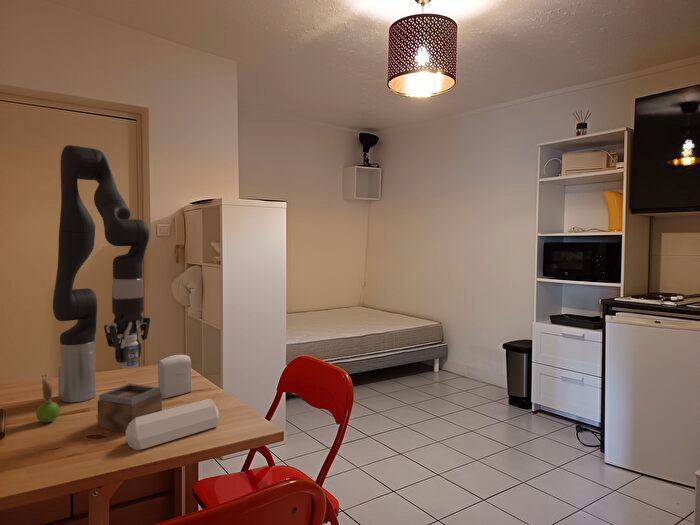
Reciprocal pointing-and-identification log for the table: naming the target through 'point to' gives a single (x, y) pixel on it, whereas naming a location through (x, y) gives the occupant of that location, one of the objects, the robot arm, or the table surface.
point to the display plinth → (127, 405)
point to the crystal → (171, 424)
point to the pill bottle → (130, 352)
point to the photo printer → (174, 375)
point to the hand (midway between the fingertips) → (128, 359)
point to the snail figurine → (47, 405)
